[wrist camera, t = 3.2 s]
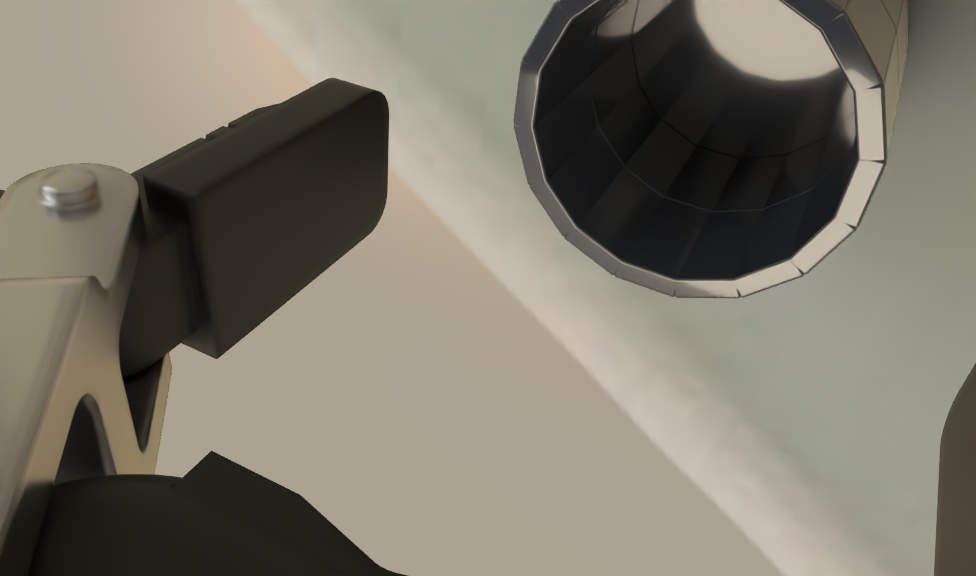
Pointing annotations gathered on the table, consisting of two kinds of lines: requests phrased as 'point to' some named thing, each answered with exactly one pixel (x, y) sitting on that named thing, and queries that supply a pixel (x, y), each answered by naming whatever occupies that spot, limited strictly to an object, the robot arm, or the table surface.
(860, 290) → the table surface
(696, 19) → the grey plastic cup
